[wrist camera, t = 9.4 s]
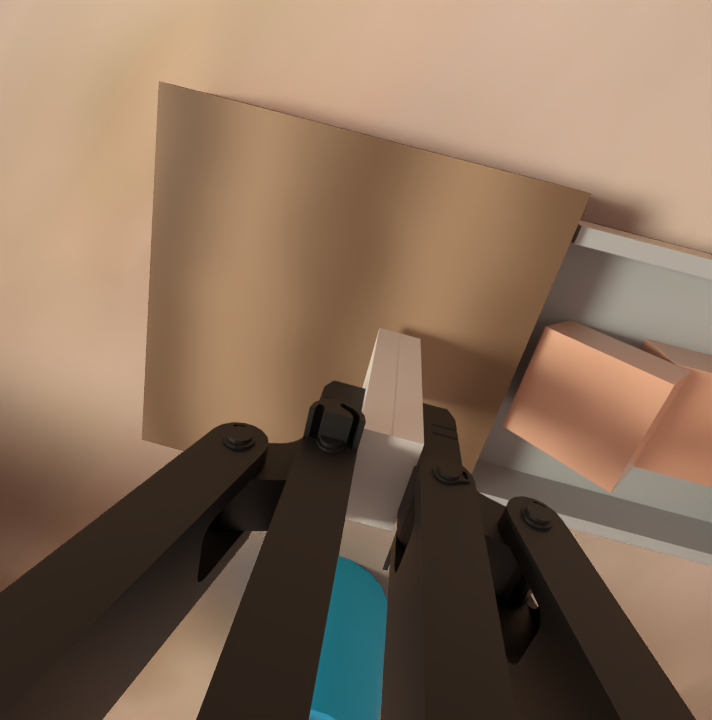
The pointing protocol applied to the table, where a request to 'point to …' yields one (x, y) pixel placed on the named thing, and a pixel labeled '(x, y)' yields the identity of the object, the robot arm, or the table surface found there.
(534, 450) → the tray
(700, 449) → the tile
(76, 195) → the table surface
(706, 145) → the table surface
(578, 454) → the tile
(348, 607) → the mug
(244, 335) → the brown square slab
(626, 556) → the table surface
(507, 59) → the table surface
